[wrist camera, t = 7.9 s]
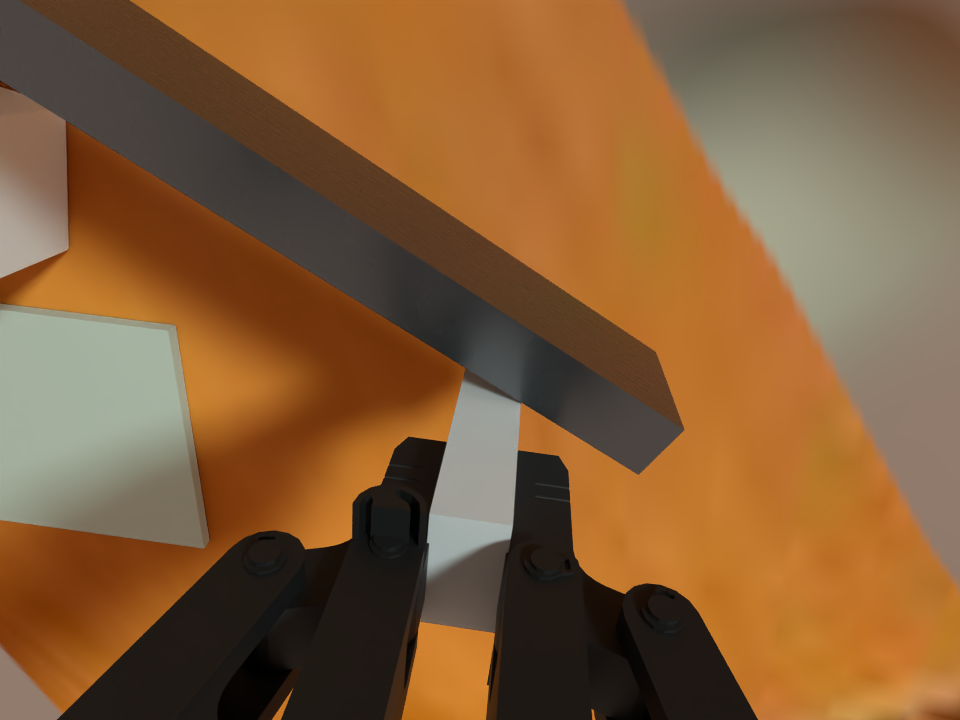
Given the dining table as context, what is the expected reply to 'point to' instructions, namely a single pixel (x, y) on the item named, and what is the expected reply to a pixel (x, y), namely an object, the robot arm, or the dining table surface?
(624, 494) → the dining table surface
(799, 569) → the dining table surface
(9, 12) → the dark grey metallic bar
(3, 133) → the milk
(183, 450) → the mat
